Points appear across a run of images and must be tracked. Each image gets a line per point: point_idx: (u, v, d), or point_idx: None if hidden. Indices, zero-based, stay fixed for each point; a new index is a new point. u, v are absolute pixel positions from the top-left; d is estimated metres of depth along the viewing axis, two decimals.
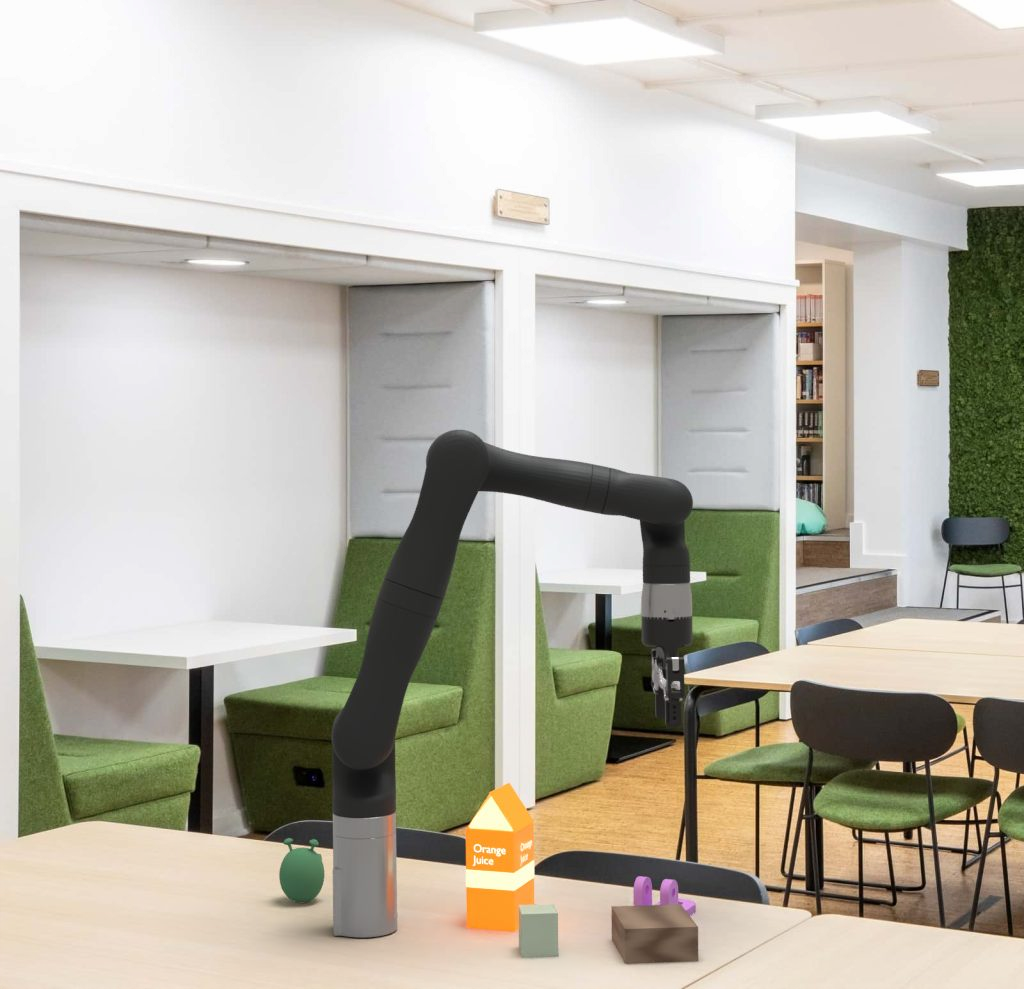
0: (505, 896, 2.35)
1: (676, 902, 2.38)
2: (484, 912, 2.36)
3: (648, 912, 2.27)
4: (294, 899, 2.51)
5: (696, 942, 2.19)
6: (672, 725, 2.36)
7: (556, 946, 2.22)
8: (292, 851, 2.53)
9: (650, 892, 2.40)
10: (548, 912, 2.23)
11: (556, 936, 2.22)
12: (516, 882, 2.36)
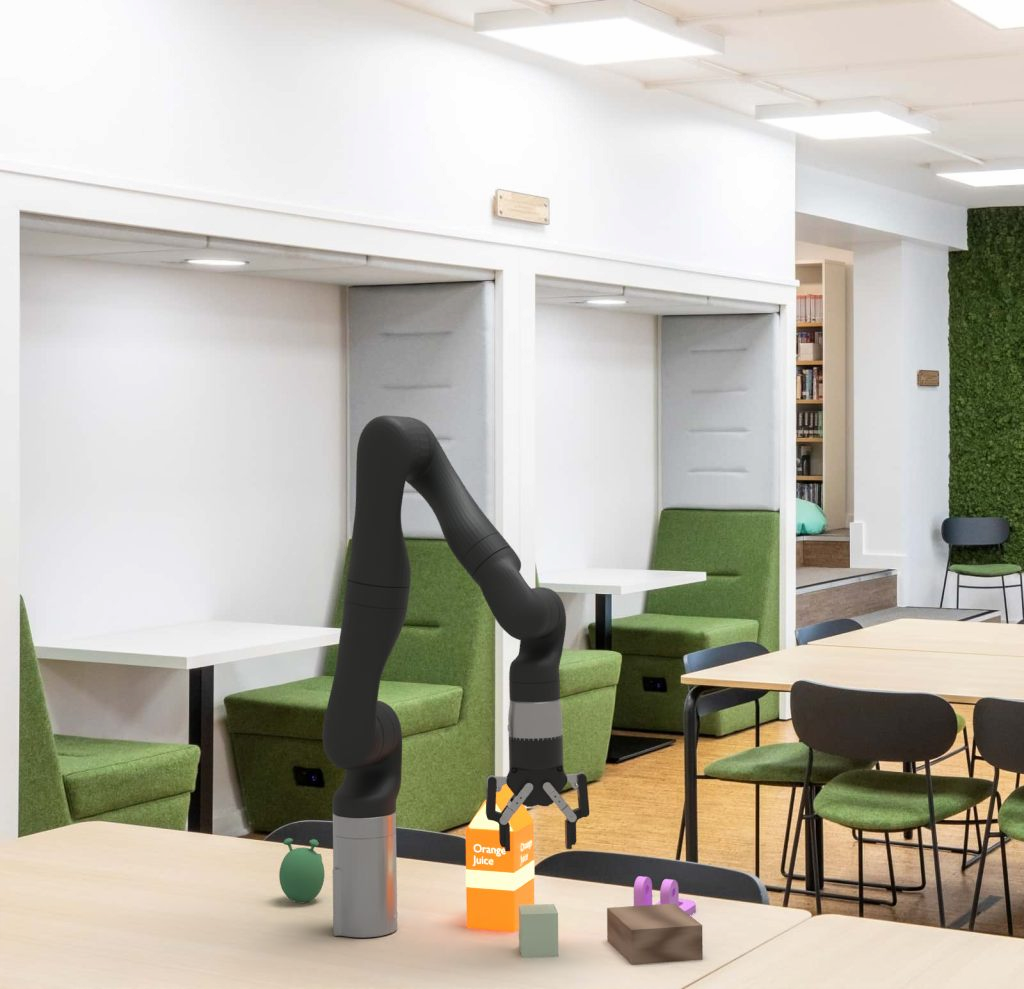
0: (505, 896, 2.35)
1: (676, 902, 2.38)
2: (484, 912, 2.36)
3: (646, 912, 2.27)
4: (294, 899, 2.51)
5: (700, 940, 2.20)
6: None
7: (556, 946, 2.22)
8: (292, 851, 2.53)
9: (650, 892, 2.40)
10: (548, 912, 2.23)
11: (556, 936, 2.22)
12: (516, 882, 2.36)
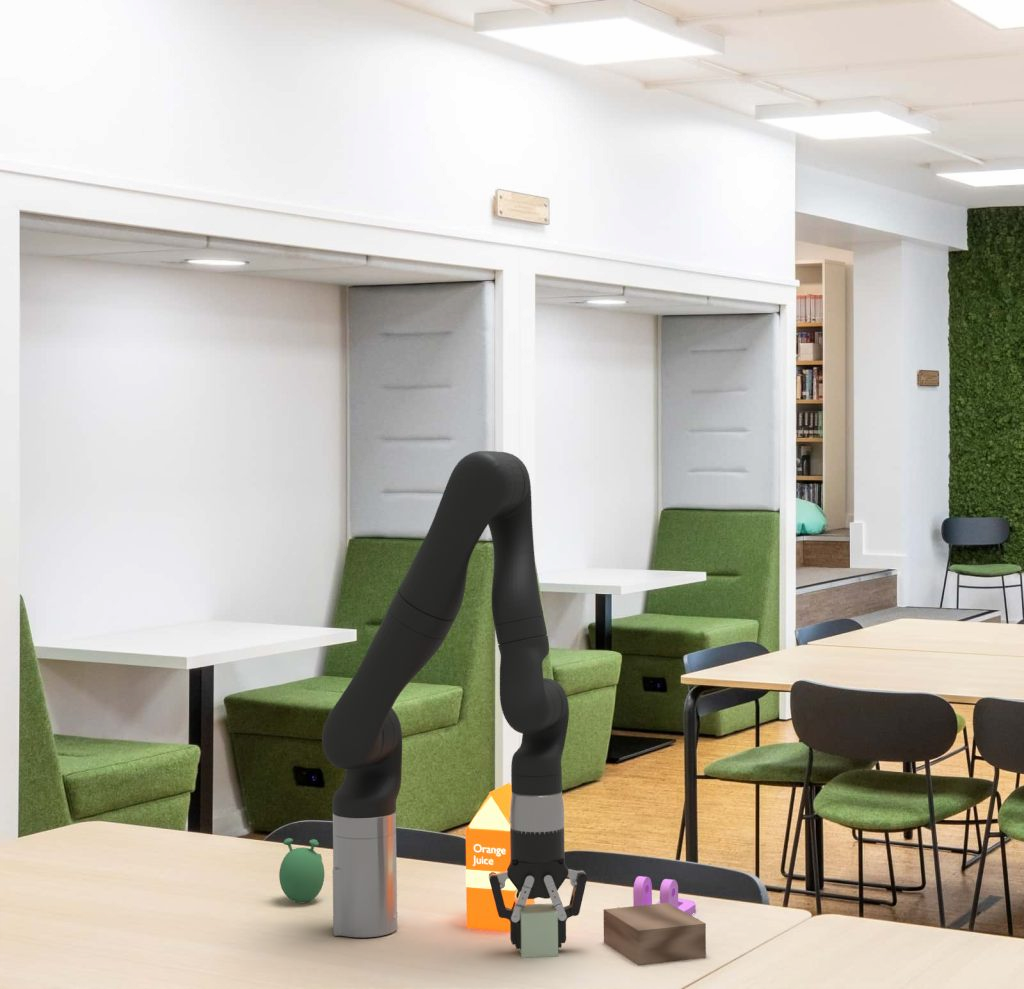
0: (505, 896, 2.35)
1: (676, 902, 2.38)
2: (484, 912, 2.36)
3: (645, 912, 2.27)
4: (294, 899, 2.51)
5: (704, 939, 2.21)
6: None
7: (556, 945, 2.22)
8: (292, 851, 2.53)
9: (650, 892, 2.40)
10: (548, 911, 2.23)
11: (556, 935, 2.22)
12: None
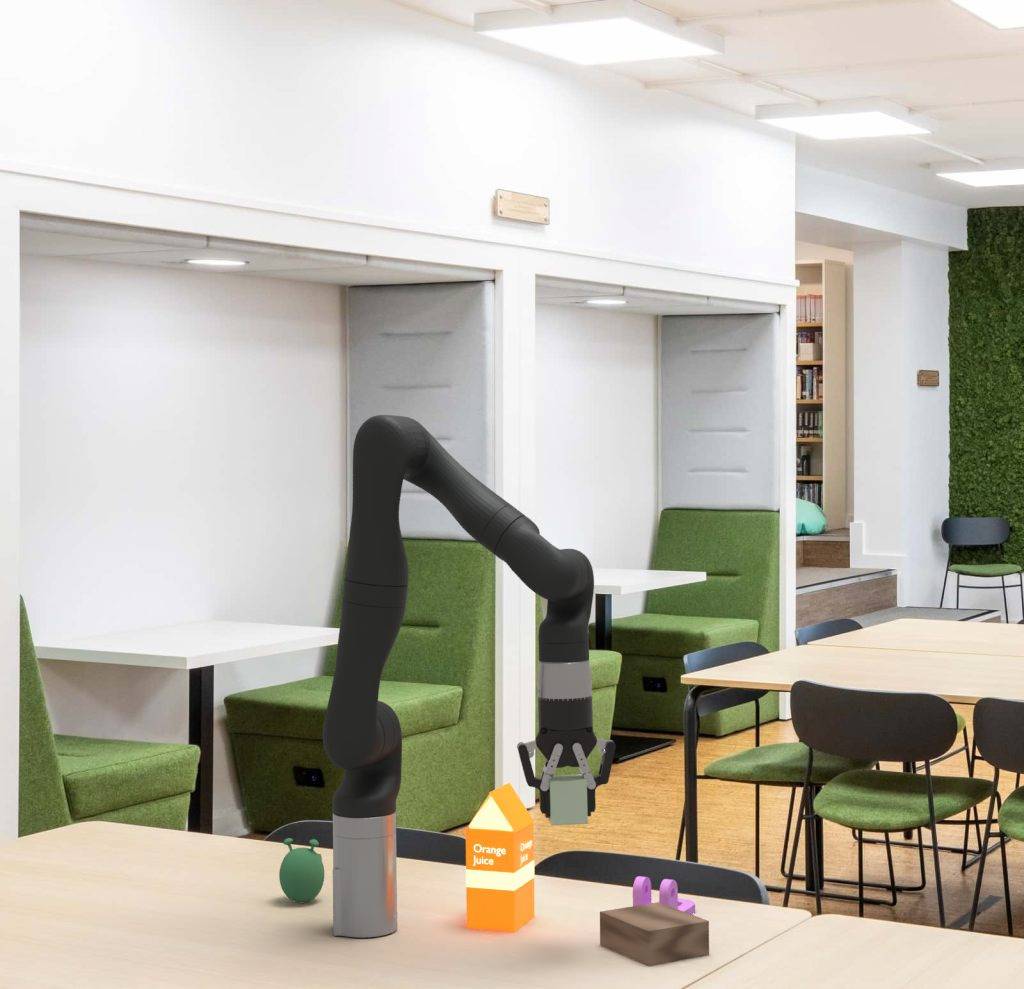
0: (505, 896, 2.35)
1: (675, 902, 2.38)
2: (484, 912, 2.36)
3: (642, 913, 2.26)
4: (294, 899, 2.51)
5: (707, 936, 2.22)
6: None
7: (585, 813, 2.22)
8: (292, 851, 2.53)
9: (649, 892, 2.40)
10: (577, 780, 2.22)
11: (585, 803, 2.22)
12: (516, 882, 2.36)
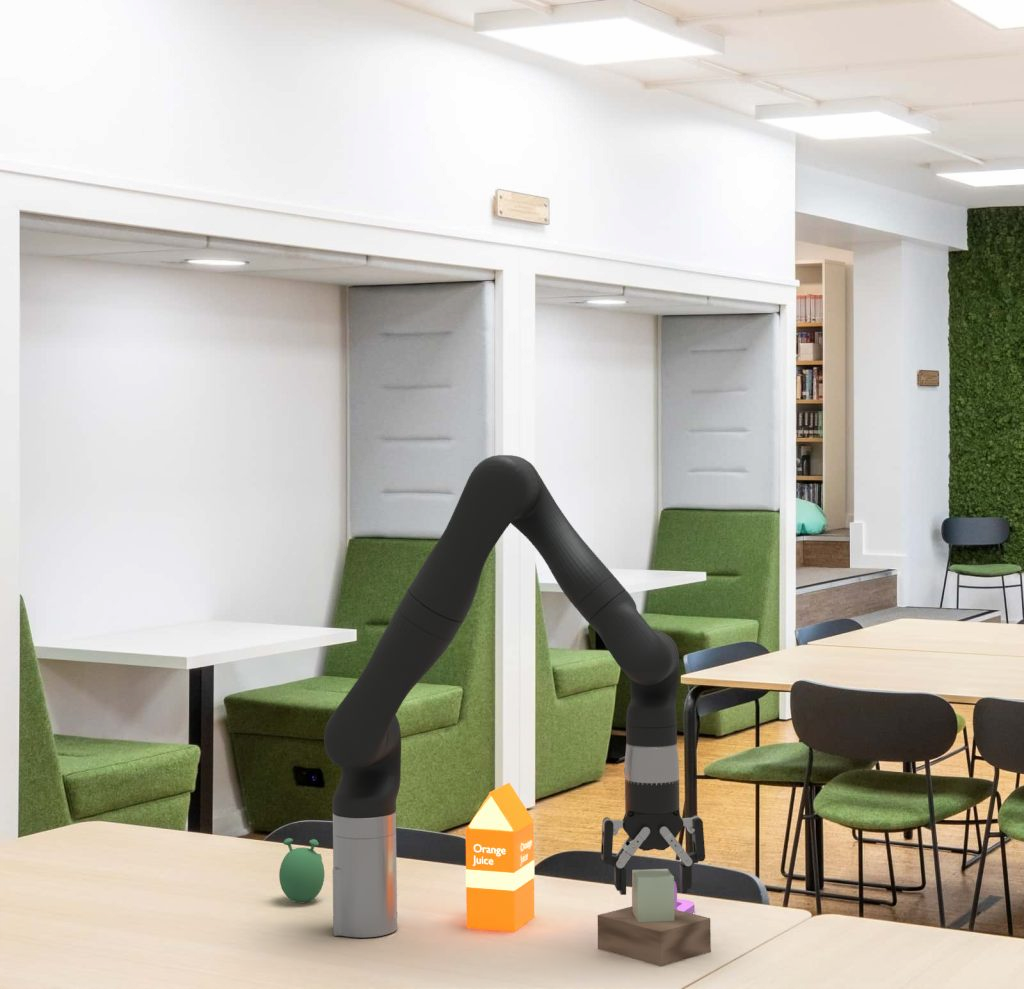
0: (505, 896, 2.35)
1: (675, 902, 2.37)
2: (484, 912, 2.36)
3: None
4: (294, 899, 2.51)
5: (709, 933, 2.24)
6: None
7: (672, 910, 2.23)
8: (292, 851, 2.53)
9: None
10: (664, 876, 2.23)
11: (672, 900, 2.23)
12: (516, 882, 2.36)
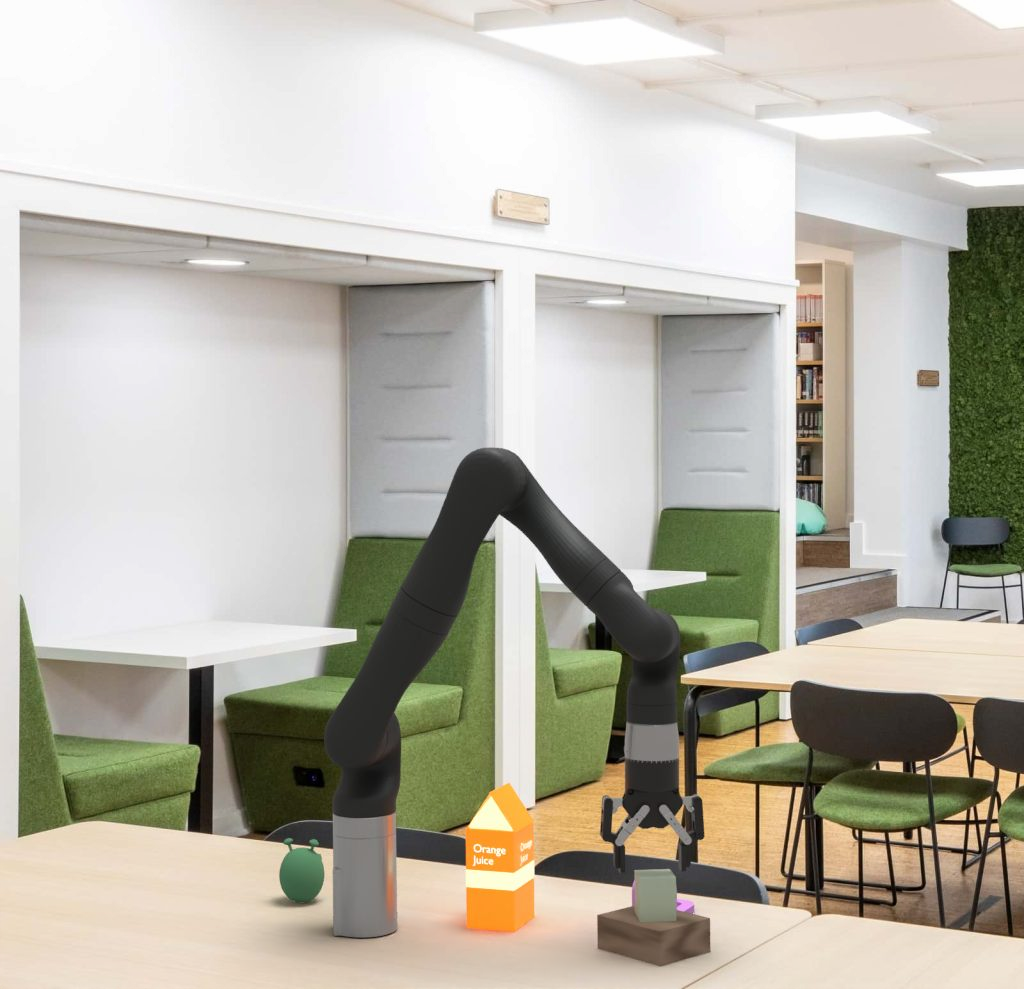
0: (505, 896, 2.35)
1: None
2: (484, 912, 2.36)
3: None
4: (294, 899, 2.51)
5: (709, 933, 2.24)
6: None
7: (674, 910, 2.22)
8: (292, 851, 2.53)
9: None
10: (666, 876, 2.23)
11: (674, 900, 2.22)
12: (516, 882, 2.36)
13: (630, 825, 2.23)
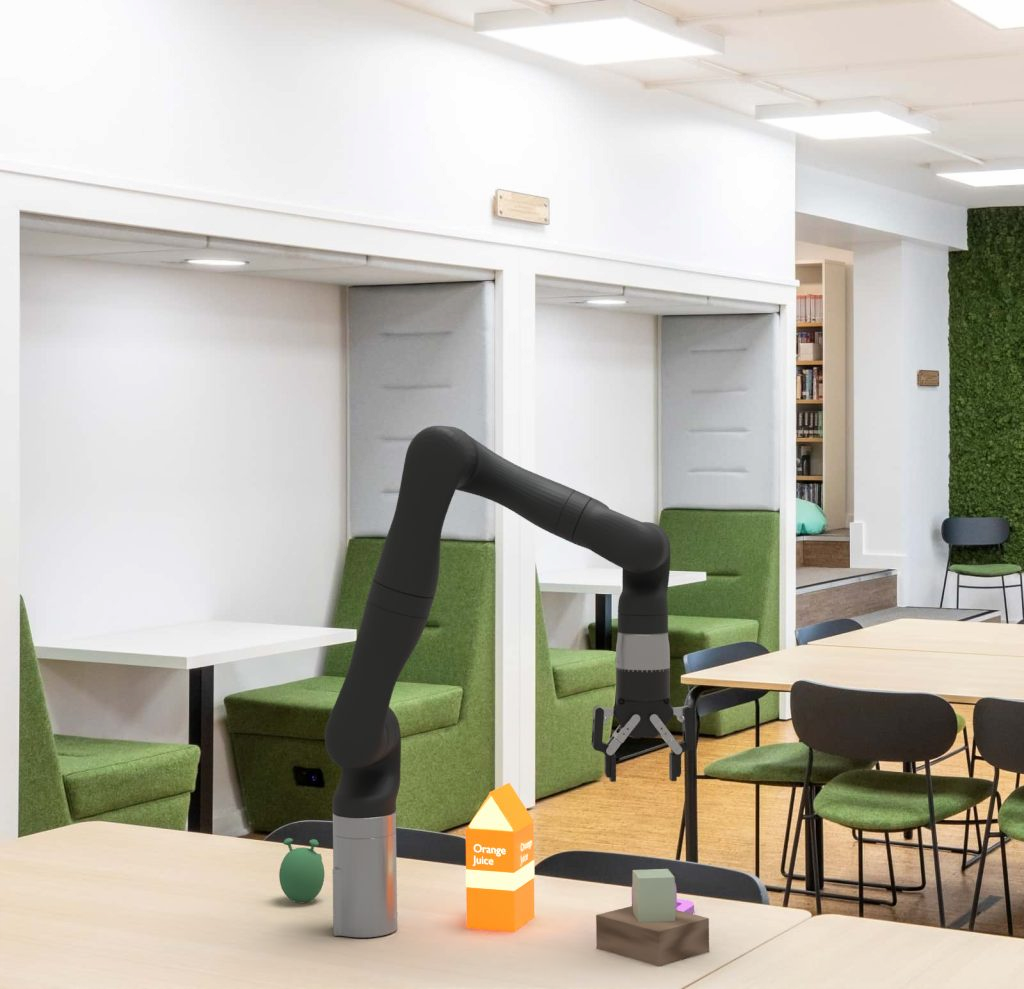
0: (505, 896, 2.35)
1: None
2: (484, 912, 2.36)
3: None
4: (294, 899, 2.51)
5: (707, 933, 2.23)
6: None
7: (673, 910, 2.22)
8: (292, 851, 2.53)
9: None
10: (665, 876, 2.23)
11: (673, 900, 2.22)
12: (516, 882, 2.36)
13: (621, 734, 2.25)
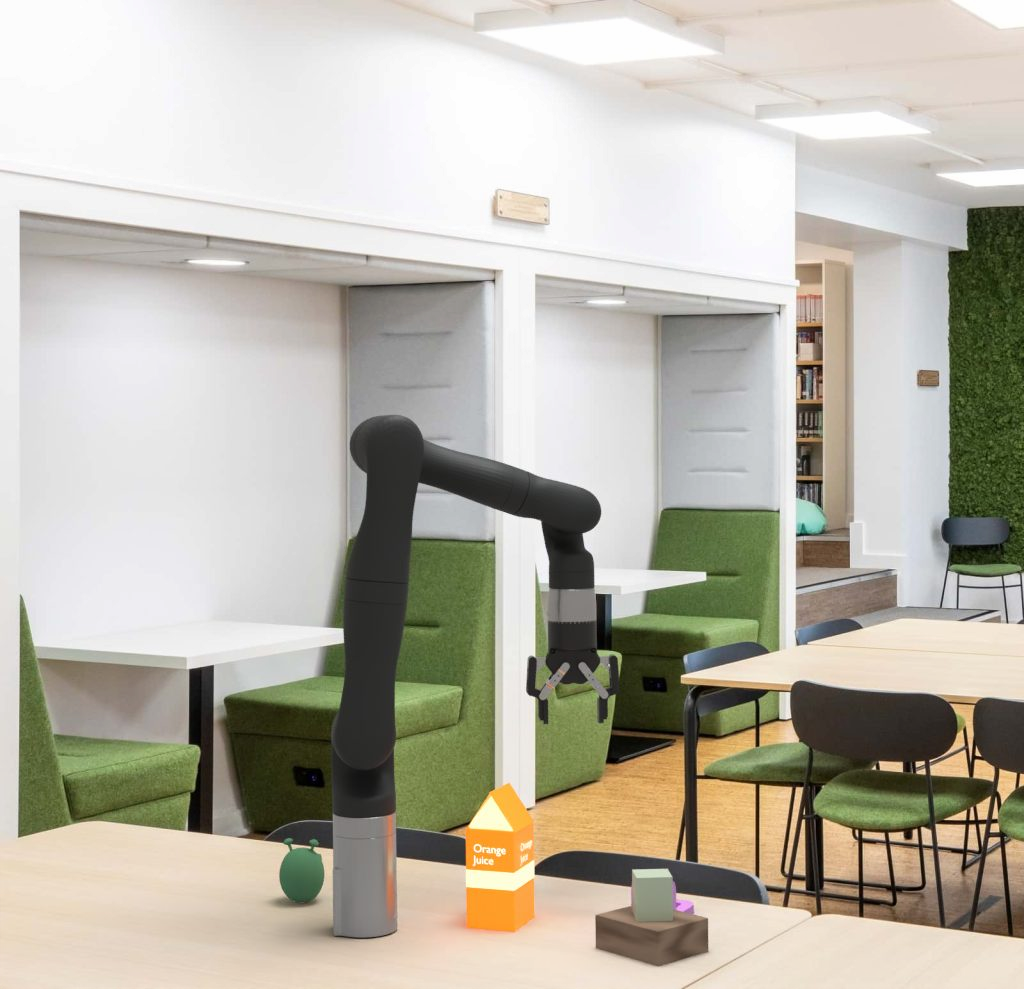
0: (505, 896, 2.35)
1: (674, 903, 2.37)
2: (484, 912, 2.36)
3: None
4: (294, 899, 2.51)
5: (707, 933, 2.24)
6: None
7: (671, 910, 2.22)
8: (292, 851, 2.53)
9: None
10: (663, 876, 2.23)
11: (671, 900, 2.22)
12: (516, 882, 2.36)
13: (552, 681, 2.47)
